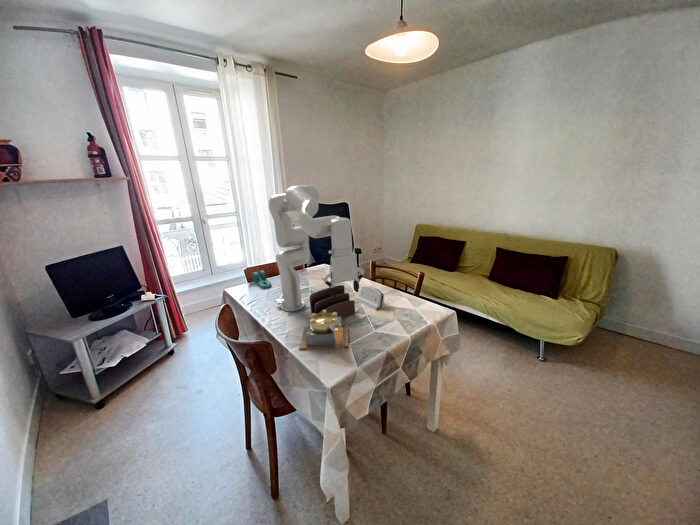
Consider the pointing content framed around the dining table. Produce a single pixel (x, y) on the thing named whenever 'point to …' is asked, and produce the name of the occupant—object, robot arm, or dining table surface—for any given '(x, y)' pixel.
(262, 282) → the bracket
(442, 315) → the dining table surface
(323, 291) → the letter holder
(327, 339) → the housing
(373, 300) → the hinge
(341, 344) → the gold rounded piece
